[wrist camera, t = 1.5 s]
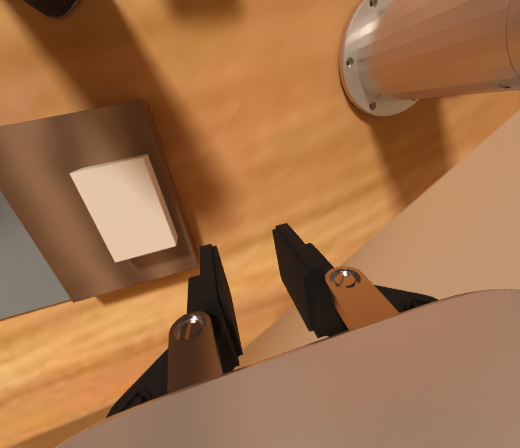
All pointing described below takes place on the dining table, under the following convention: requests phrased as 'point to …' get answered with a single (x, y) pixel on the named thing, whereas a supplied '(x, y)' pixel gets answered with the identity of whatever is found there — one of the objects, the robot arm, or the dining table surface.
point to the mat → (23, 269)
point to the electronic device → (53, 7)
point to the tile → (127, 206)
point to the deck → (71, 203)
